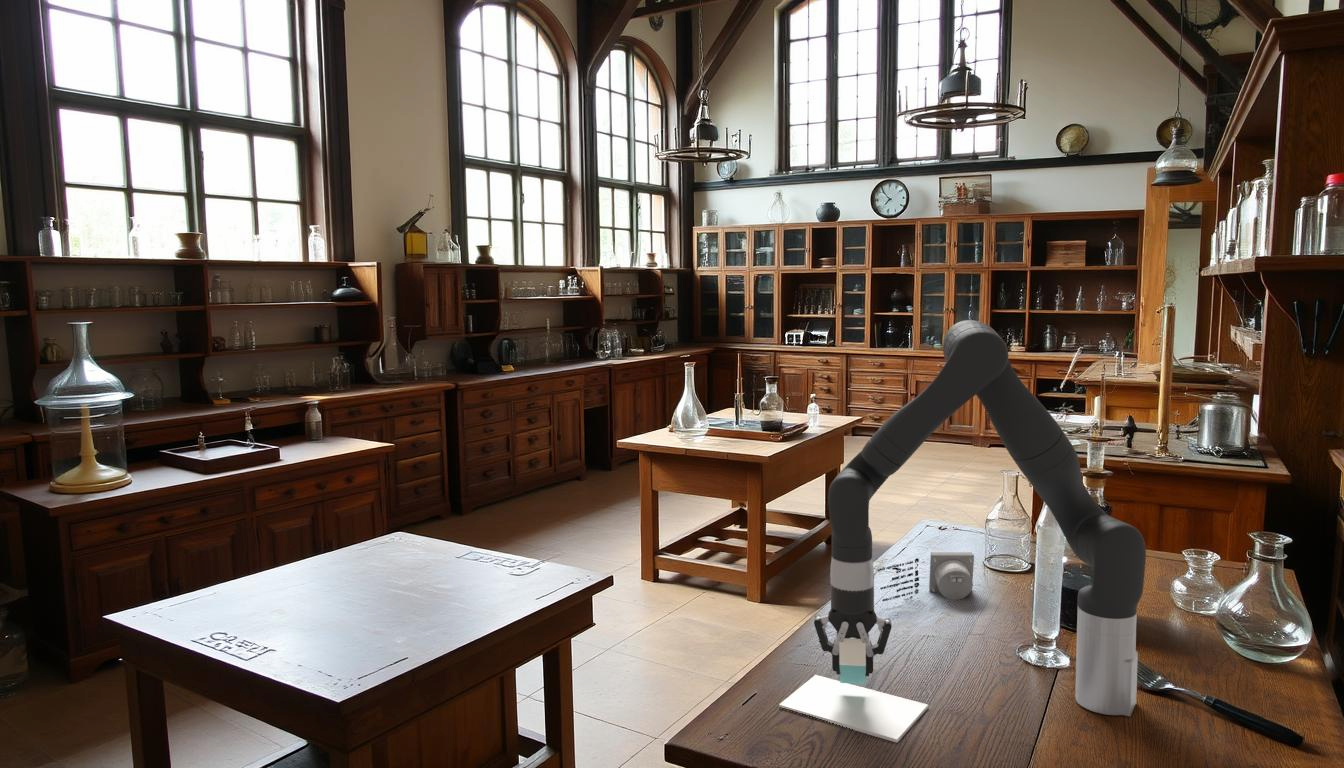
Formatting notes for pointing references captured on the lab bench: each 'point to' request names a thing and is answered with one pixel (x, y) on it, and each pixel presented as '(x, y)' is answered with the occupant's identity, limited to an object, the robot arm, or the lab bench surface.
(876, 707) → the white board
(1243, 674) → the lab bench surface
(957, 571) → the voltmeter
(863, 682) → the teal block
